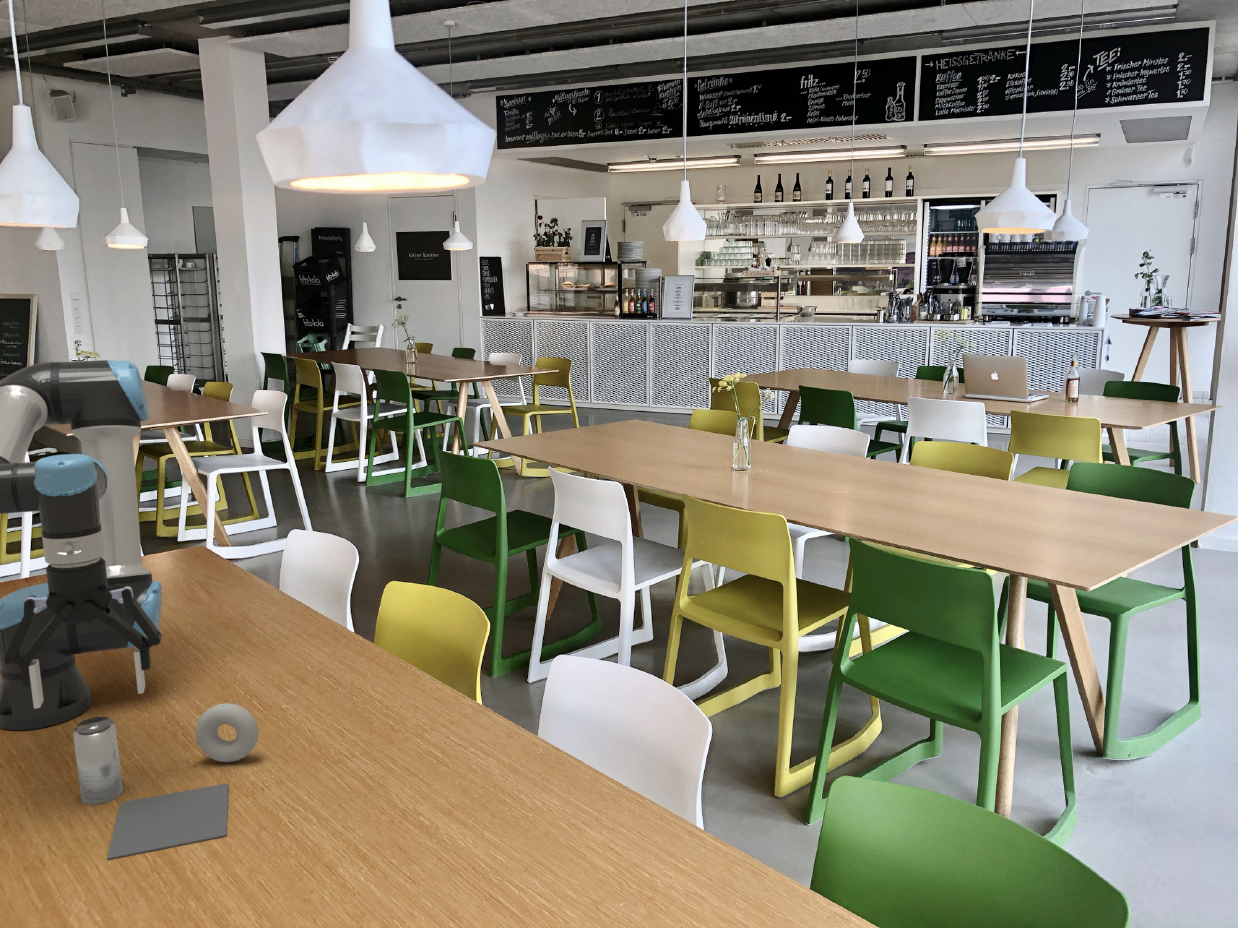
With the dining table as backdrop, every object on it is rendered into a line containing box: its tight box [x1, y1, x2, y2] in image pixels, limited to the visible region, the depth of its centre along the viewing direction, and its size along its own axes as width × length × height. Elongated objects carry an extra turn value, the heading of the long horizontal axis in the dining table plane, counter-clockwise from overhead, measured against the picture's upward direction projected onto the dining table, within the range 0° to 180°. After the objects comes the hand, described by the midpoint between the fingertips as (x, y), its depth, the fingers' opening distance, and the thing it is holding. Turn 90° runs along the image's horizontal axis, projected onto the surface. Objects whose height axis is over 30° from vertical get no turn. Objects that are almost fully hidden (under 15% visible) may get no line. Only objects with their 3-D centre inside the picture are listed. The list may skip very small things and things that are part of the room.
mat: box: [106, 782, 229, 861], centre depth 135 cm, size 15×15×1 cm
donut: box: [194, 702, 259, 763], centre depth 151 cm, size 10×4×10 cm, turn 92°
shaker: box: [72, 716, 124, 806], centre depth 140 cm, size 6×6×12 cm
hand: (91, 697), depth 139 cm, fingers open, 13 cm apart
